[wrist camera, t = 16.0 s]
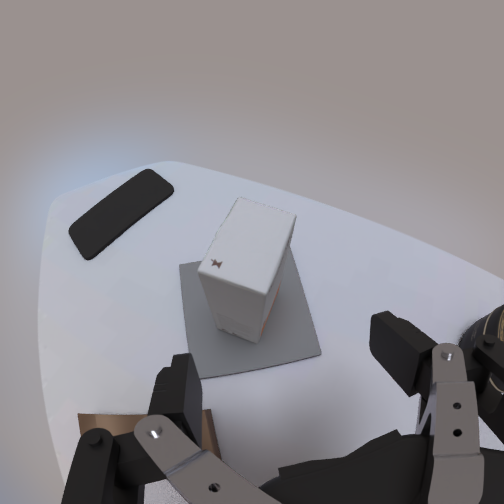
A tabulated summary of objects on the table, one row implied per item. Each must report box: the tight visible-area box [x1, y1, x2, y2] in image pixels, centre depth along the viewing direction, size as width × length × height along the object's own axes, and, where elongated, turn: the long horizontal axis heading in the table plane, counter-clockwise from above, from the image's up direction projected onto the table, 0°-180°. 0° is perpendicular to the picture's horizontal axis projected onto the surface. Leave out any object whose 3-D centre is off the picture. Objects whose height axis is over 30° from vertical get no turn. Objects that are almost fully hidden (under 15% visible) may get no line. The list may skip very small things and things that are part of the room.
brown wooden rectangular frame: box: [78, 409, 222, 461], centre depth 16 cm, size 12×14×4 cm
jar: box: [459, 304, 504, 393], centre depth 20 cm, size 10×10×8 cm
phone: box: [69, 169, 174, 260], centre depth 34 cm, size 7×1×15 cm
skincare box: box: [197, 197, 296, 344], centre depth 21 cm, size 6×4×12 cm
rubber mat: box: [179, 247, 322, 379], centre depth 27 cm, size 12×12×1 cm
